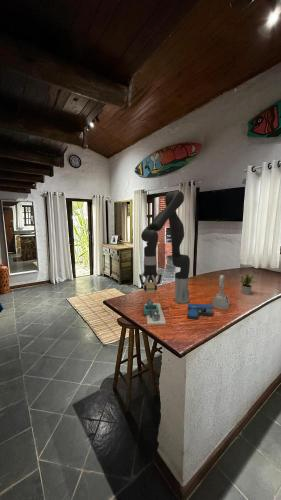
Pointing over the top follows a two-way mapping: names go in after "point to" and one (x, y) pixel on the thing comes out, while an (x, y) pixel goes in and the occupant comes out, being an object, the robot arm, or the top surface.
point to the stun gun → (199, 310)
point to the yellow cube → (150, 287)
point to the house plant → (246, 284)
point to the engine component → (221, 296)
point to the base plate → (161, 321)
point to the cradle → (148, 307)
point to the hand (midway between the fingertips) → (150, 290)
